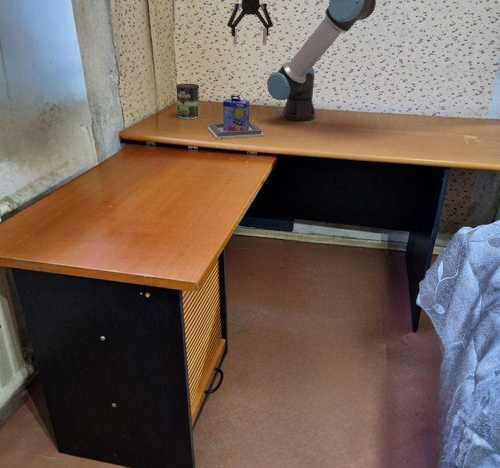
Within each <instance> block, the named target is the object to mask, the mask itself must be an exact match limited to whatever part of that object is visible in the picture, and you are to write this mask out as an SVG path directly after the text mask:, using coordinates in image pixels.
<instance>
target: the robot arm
mask: <svg viewBox="0 0 500 468" xmlns="http://www.w3.org/2000/svg"><path fill="white" fill-rule="evenodd" d="M233 6H234V8H233V9H232V13H231V14H230V17H229V19H228V21H227V24H226V25H227V28H228V27H229V28H230V29H231V30H230V31H231V32H230V33H231V37H232V38H233V46H238V28H236V27H238V25H239V24H240V22H241V20H243V18H244V17H245V16H246V15H247V16H250V15H252V16H254V15H255V16H256V17H257V18H258V19H259V21H260V22H261V24H262V25H263V28H262V44H263V45H265V46H266V45H267V37H269V32H270V31H269V29H270V28H272V27H273V26H274V24H273V21H272V18H271V16H270V13H269V11H268V7H267V3H265V2H264V3H260V0H241V3H238V2H235V3H234V4H233ZM376 7H377V0H329V1H328V7H327V8H326V10H325V11H324V13H325V16H324V18H323V20H322V21H321V22H320V23H319V25H318V26H316V29H315V30H314V31H313V32H312V34H311V35H310V36H309V37H308V39H307V40H306V41H305V43H304V44H303V45H302V46H301V48H300V49H299V50H298V51H297V52H296V54H295V55H294V56H293V58H292V59H291V60H290V61H285V62H284V63H283V64H282V66H281V67H280V68H279V69H278V71H275V72H273V73H271V74H270V75H269V76H268V78H267V82H266V85H267V91H268V93H269V95H270V96H271V97H272V98H273V99H274V100H277V101H285V100H286V102H285V106H284V108H283V109H282V118H283V119H286V120H288V121H289V120H290V121H297V122H302V121H303V122H305V121H306V122H307V121H312V120H314V119H315V117H316V112H315V108H314V103H313V95H314V94H313V93H314V82H315V69H314V68H313V67H314V66H315V65H316V64H317V62H318V61H319V60H321V58H322V57H323V55H324V54H325V53H326V52H327V50H328V49H329V48H330V47H331V46H332V45H333V43H334V42H335V41H336V40H337V39H338V38H339V36H340V35H341V34H342V33H347V32H349V30H351V28H353V26H354V25H355V24H356V22H358V21H364V20H366V19H368V18H369V17H370V16H371V15H372V14H374V11H375V8H376ZM240 8H241V9H242V10H241V12H240V13H239V15H238V16H237V14H238V11H239V9H240ZM260 9H261V10H262V12H263V14H264V15H263V14H261V12H260ZM236 16H237V17H236ZM263 16H264V17H265V18H264V17H263ZM235 18H236V19H235Z"/></svg>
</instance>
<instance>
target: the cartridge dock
mask: <svg viewBox="0 0 500 468" xmlns="http://www.w3.org/2000/svg"><path fill="white" fill-rule="evenodd" d="M207 130H208V131H209V132H210V133H212V134H213V135H212V134H211V135H212V136H213V137H214V138H216V140H222V139H221V138H227V139H236V138H235V137H243V138H254V137H255V138H257V137H265V134H264V133H263V132H262V129H260V128H259V126H257V125H256V124H255V123H253V122H252V121H249V130H243V131H224V130H223V122H221V123H220V122H218V123H210V124H209V126H207Z"/></svg>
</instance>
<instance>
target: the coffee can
mask: <svg viewBox="0 0 500 468" xmlns="http://www.w3.org/2000/svg"><path fill="white" fill-rule="evenodd" d="M175 88H176V105H177V118H179V119H183V120H195V119H199V118H200V85H199V84H196V83H179V84H176V85H175Z"/></svg>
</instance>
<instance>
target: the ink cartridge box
mask: <svg viewBox="0 0 500 468" xmlns="http://www.w3.org/2000/svg"><path fill="white" fill-rule="evenodd" d="M222 106H223V108H222V110H223V111H222V113H223V117H222V119H223V120H222V121H223V122H222V123H223V130H224V131H243V130H249V122H250V100H248V99H247V100H245V99H241V98H240V95H233V94H232V95H230V98H227V99H225V100H223V103H222Z"/></svg>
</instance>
